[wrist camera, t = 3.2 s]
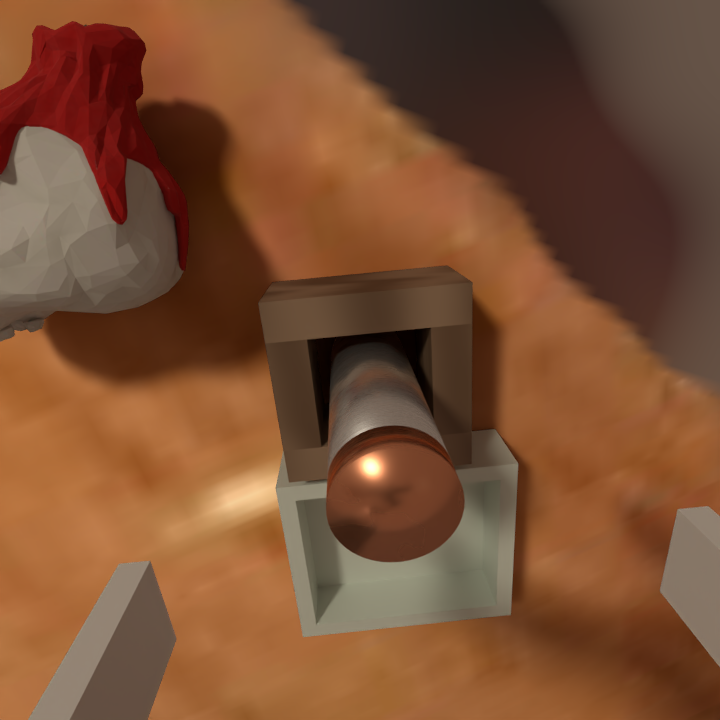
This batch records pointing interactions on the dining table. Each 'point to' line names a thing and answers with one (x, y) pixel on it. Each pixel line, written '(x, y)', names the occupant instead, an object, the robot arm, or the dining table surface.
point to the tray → (414, 577)
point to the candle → (83, 183)
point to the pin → (386, 455)
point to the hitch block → (363, 316)
